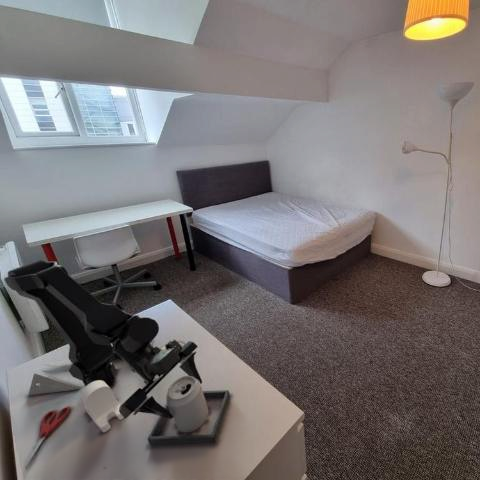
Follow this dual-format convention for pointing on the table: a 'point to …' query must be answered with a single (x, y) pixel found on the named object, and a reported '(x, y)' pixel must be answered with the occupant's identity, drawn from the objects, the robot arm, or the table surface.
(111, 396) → the white phone stand
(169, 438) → the dark grey rectangular frame
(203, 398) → the can
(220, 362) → the table surface
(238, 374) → the table surface
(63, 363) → the knife
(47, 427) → the scissors
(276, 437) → the table surface
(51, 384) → the grey triangular spike
